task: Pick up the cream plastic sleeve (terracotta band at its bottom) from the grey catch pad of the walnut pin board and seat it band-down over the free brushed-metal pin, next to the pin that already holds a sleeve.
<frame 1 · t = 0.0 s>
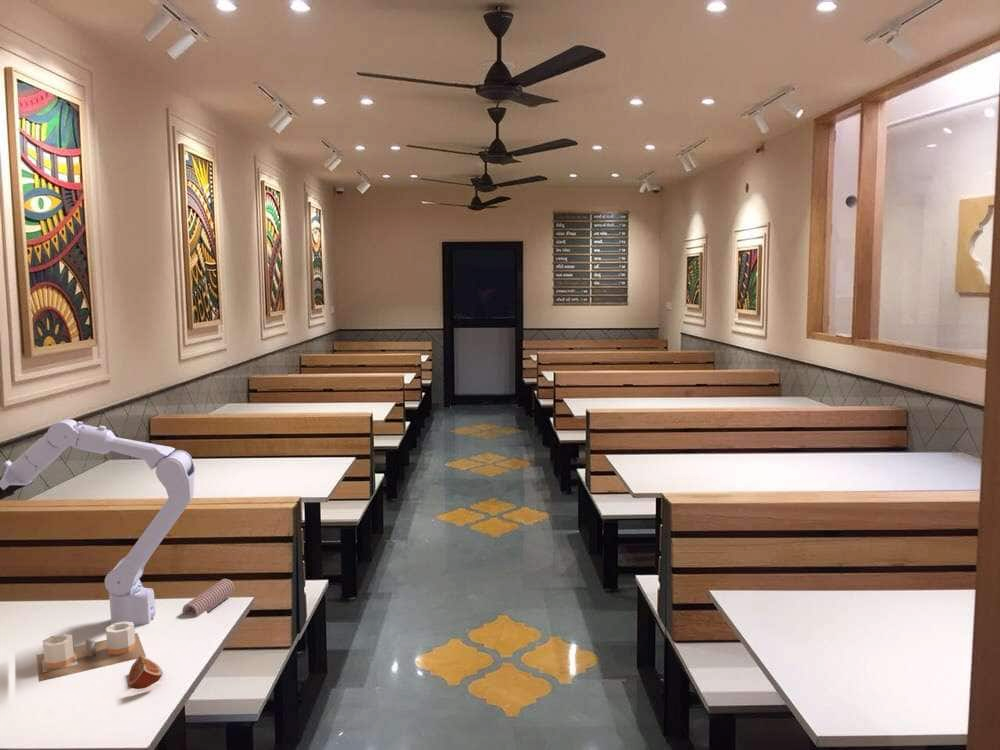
fruit slice: (145, 686, 165), on the table
pin board: (91, 662, 175), on the table
coil: (209, 609, 204), on the table
sleeve: (59, 662, 172), point 2 cm above the table, touching pin board
seated sleeve: (121, 648, 178), point 1 cm above the table, touching pin board
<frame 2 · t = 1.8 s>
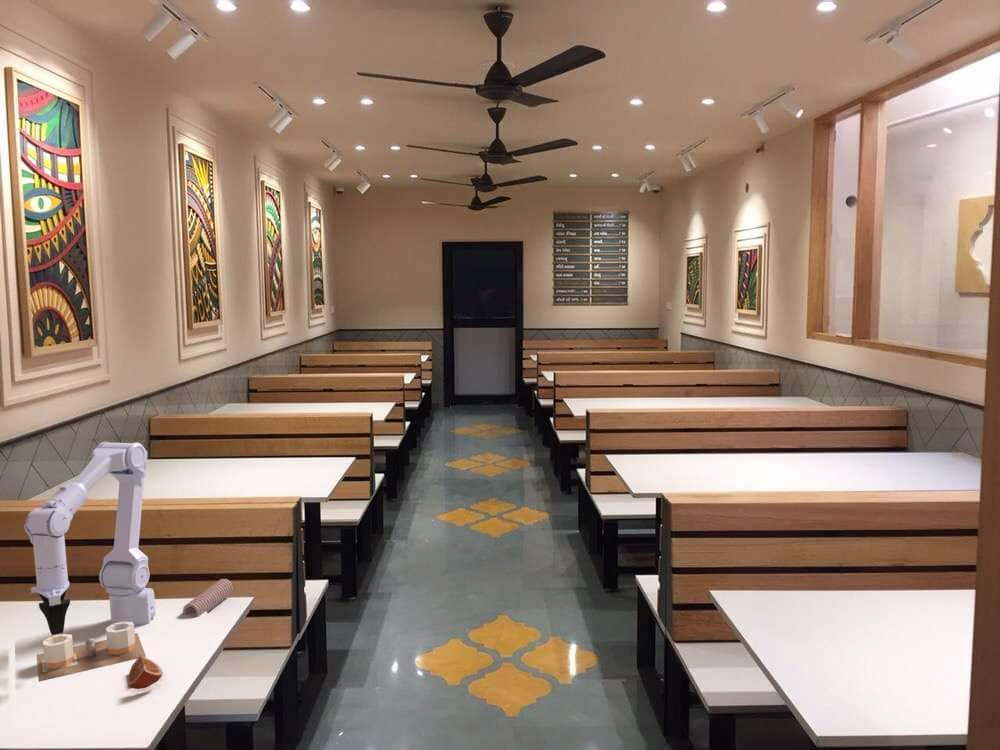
hand: (56, 627, 171), 9 cm above the table, fingers open, 7 cm apart
nothing on the table moved.
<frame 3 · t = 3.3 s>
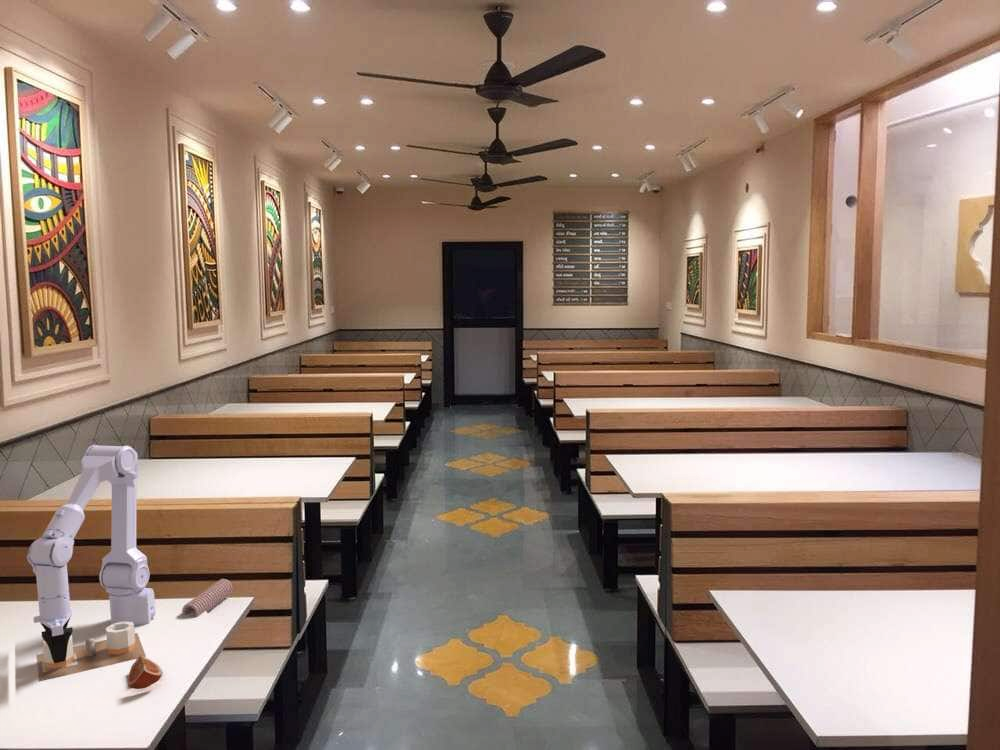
hand: (59, 656, 172), 3 cm above the table, fingers closed on sleeve, 5 cm apart
sleeve: (59, 662, 172), point 2 cm above the table, touching gripper, pin board
everything else where it was.
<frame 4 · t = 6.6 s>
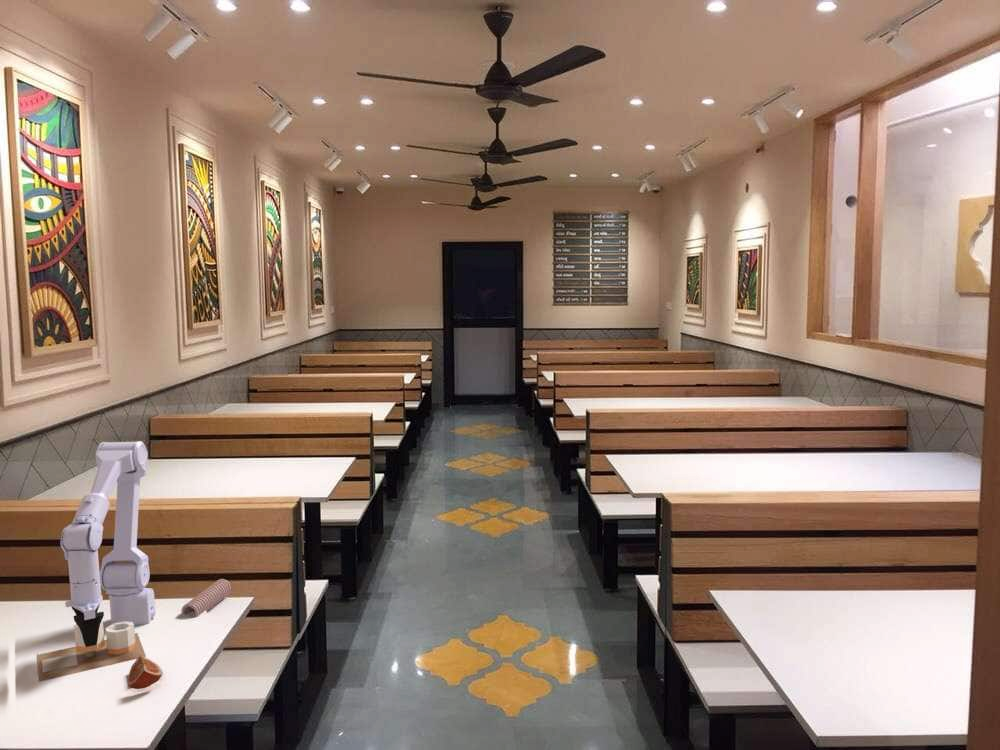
hand: (89, 640, 175), 5 cm above the table, fingers closed on sleeve, 5 cm apart
sleeve: (90, 646, 175), point 4 cm above the table, touching gripper
everything else where it was.
when the fingers open (5 cm above the table, at t = 7.5 s): sleeve drops 2 cm, resting on pin board.
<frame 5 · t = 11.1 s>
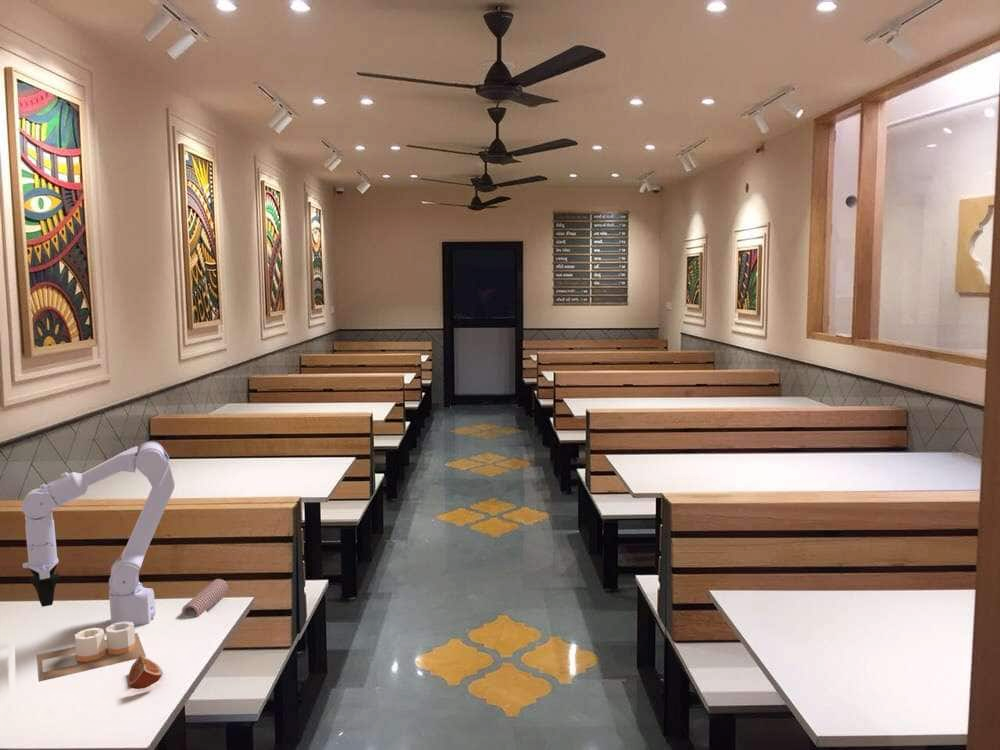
hand: (46, 599, 186), 9 cm above the table, fingers open, 7 cm apart
sleeve: (91, 655, 175), point 1 cm above the table, touching pin board
everything else where it was.
at the end: sleeve 0.0 cm off-centre on the pin board, point 1.5 cm above the pin board's base; sleeve tilted 0°; the gripper is holding nothing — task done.
